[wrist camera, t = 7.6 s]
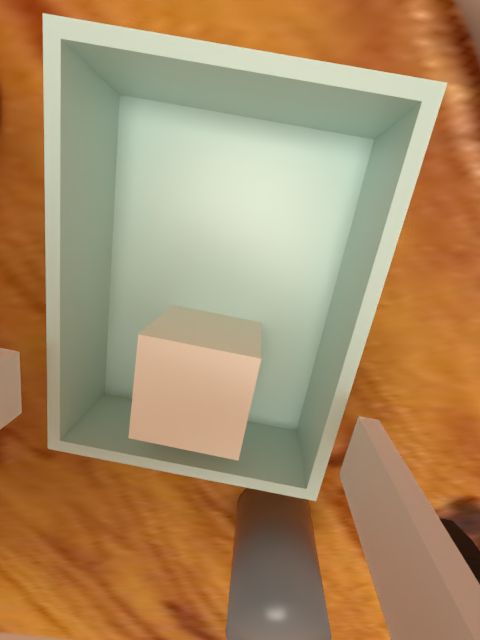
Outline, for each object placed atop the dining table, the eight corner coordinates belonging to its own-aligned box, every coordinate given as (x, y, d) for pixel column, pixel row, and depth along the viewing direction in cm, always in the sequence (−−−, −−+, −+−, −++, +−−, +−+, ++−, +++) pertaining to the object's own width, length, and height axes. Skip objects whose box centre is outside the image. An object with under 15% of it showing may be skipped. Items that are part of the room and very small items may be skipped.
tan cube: (162, 384, 19) (128, 438, 14) (172, 304, 17) (138, 334, 12) (244, 400, 18) (238, 460, 14) (261, 322, 17) (261, 358, 12)
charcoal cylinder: (231, 529, 22) (218, 658, 15) (243, 473, 21) (235, 590, 14) (300, 542, 22) (316, 678, 15) (317, 488, 21) (343, 611, 14)
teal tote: (99, 395, 20) (47, 448, 15) (113, 83, 15) (42, 13, 10) (302, 434, 20) (315, 501, 15) (386, 131, 15) (447, 82, 10)
